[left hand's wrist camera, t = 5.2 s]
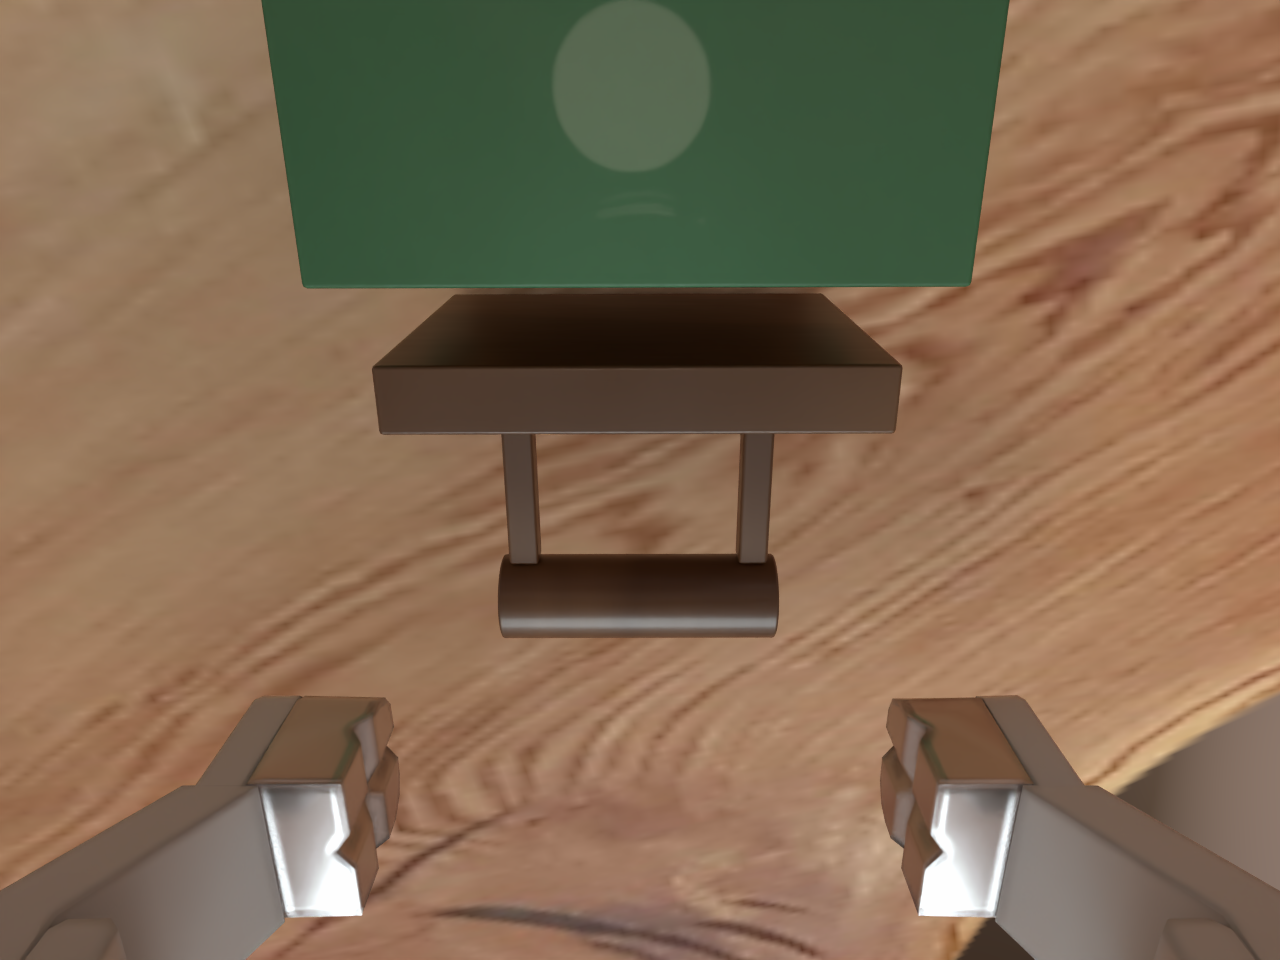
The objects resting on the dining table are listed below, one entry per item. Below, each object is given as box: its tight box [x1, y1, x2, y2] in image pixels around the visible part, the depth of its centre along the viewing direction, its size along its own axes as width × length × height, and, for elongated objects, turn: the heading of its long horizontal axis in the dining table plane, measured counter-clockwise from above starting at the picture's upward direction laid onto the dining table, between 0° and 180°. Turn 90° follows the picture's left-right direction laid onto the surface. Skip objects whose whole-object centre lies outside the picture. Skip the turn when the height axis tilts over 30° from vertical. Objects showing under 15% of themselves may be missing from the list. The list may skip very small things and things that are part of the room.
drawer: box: [372, 294, 902, 638], centre depth 16 cm, size 21×9×7 cm, turn 0°
